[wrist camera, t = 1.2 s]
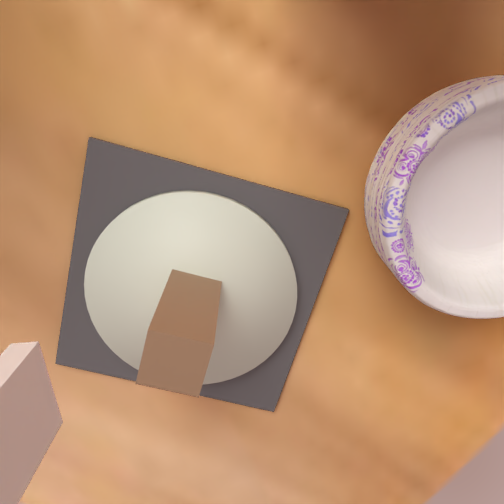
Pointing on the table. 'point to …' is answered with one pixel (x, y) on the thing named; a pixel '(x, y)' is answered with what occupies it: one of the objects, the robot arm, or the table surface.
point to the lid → (190, 289)
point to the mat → (198, 179)
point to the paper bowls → (444, 199)
